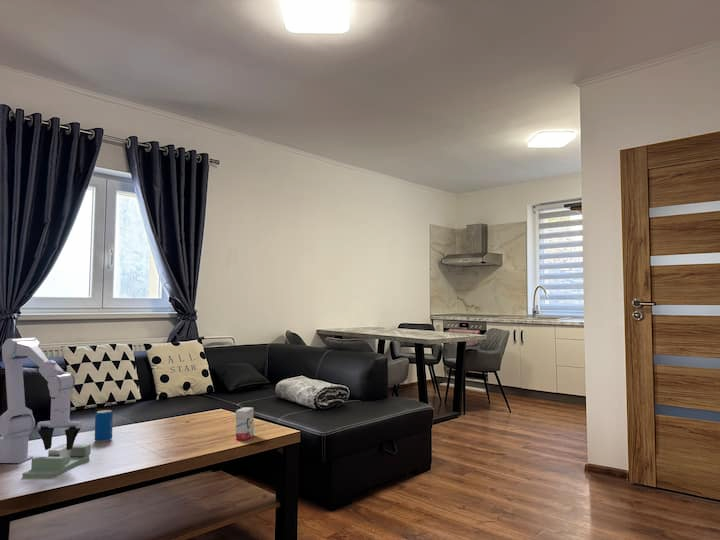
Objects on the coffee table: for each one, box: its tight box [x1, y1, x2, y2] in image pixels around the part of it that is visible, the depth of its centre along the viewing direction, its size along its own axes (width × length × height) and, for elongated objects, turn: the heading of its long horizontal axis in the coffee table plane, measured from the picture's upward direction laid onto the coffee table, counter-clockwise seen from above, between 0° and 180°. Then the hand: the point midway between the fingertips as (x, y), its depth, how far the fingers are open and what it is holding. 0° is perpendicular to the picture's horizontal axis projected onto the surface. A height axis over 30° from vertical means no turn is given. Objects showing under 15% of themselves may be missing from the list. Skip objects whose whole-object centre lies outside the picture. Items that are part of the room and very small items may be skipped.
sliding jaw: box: [60, 443, 92, 456], centre depth 177 cm, size 10×4×4 cm, turn 88°
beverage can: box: [94, 409, 114, 443], centre depth 203 cm, size 6×6×12 cm
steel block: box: [47, 445, 71, 463], centre depth 169 cm, size 4×6×5 cm, turn 178°
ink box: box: [235, 406, 255, 441], centre depth 206 cm, size 9×5×12 cm, turn 171°
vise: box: [21, 454, 90, 479], centre depth 168 cm, size 10×20×5 cm, turn 178°
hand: (58, 449), depth 168 cm, fingers open, 7 cm apart
